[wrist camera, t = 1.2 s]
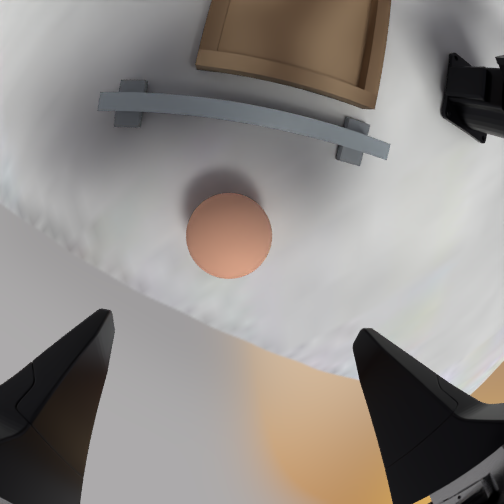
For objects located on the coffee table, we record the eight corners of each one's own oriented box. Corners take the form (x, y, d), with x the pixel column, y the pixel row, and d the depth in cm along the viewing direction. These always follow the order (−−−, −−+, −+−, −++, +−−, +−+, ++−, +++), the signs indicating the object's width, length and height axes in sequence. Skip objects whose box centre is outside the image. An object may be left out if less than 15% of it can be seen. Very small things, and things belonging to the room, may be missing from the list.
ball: (271, 190, 18) (290, 216, 14) (256, 257, 20) (268, 299, 16) (194, 179, 17) (187, 202, 13) (186, 249, 19) (179, 291, 15)
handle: (365, 124, 17) (394, 128, 13) (355, 164, 18) (382, 176, 15) (124, 80, 13) (103, 74, 10) (117, 126, 15) (95, 129, 12)
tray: (381, -12, 11) (392, -18, 10) (362, 108, 16) (374, 109, 15) (233, -57, 9) (235, -68, 8) (197, 69, 14) (195, 64, 12)
